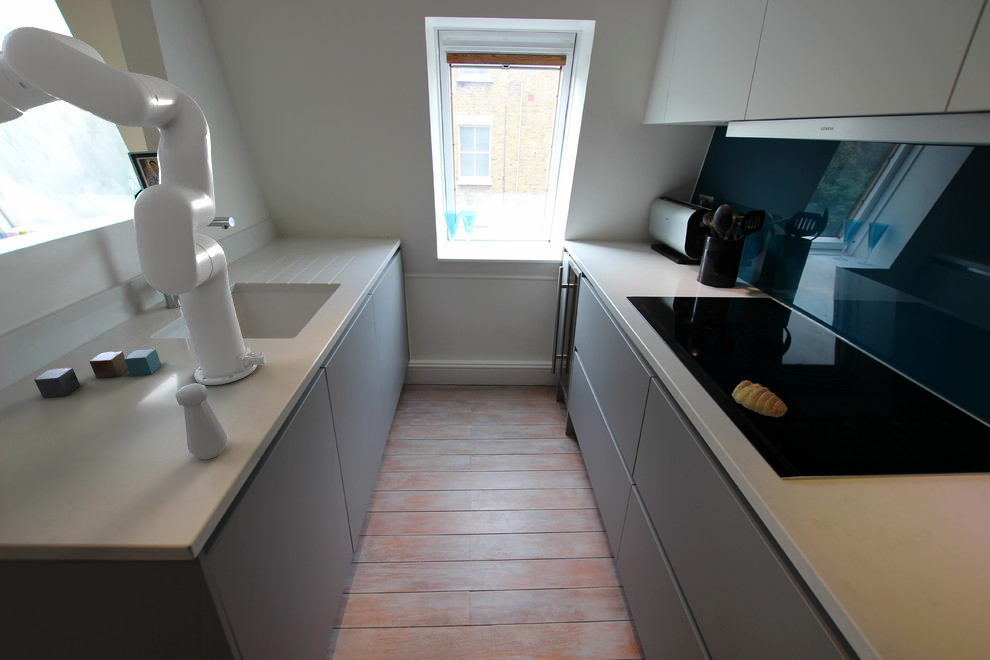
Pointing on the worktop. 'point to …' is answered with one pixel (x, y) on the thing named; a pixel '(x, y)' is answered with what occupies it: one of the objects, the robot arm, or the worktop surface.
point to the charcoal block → (57, 382)
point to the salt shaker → (201, 423)
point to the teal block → (142, 362)
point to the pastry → (759, 399)
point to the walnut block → (109, 364)
